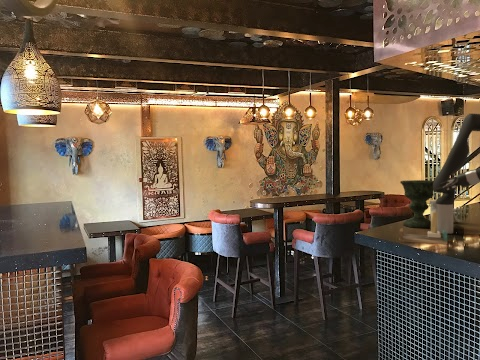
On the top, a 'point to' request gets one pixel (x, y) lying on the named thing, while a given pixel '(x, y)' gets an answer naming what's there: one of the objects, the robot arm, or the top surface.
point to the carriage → (434, 226)
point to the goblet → (418, 201)
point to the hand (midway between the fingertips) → (438, 188)
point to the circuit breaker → (432, 207)
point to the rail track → (423, 238)
